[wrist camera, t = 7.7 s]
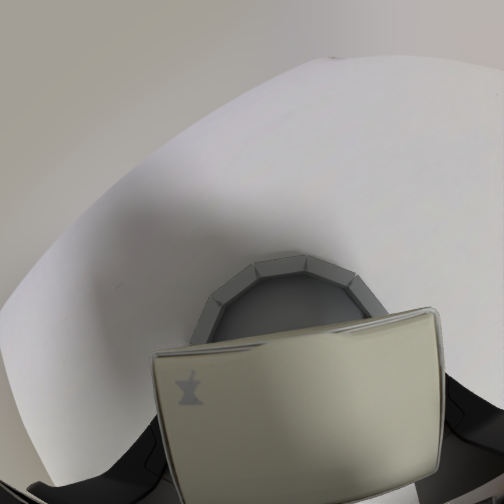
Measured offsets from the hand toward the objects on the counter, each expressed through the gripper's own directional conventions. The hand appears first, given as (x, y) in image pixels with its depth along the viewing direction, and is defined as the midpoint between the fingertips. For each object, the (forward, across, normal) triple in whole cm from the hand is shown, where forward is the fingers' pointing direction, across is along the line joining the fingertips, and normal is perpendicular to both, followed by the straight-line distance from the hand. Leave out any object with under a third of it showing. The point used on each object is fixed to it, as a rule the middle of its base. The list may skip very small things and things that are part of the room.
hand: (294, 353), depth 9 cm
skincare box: (+4, 0, +6) cm, 7 cm away
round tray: (+6, 0, +7) cm, 9 cm away
